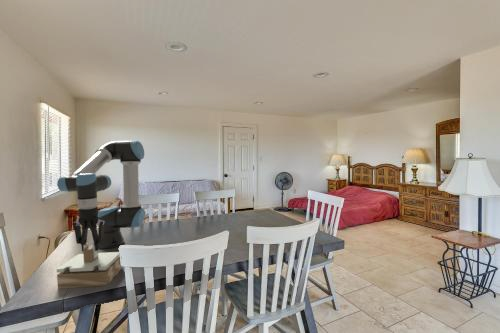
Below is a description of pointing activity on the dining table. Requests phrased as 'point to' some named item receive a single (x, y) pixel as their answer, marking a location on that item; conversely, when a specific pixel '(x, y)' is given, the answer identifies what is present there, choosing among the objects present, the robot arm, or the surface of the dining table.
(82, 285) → the shallow wooden tray
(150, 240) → the dining table surface
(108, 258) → the white box lid
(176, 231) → the dining table surface
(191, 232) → the dining table surface
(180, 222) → the dining table surface
